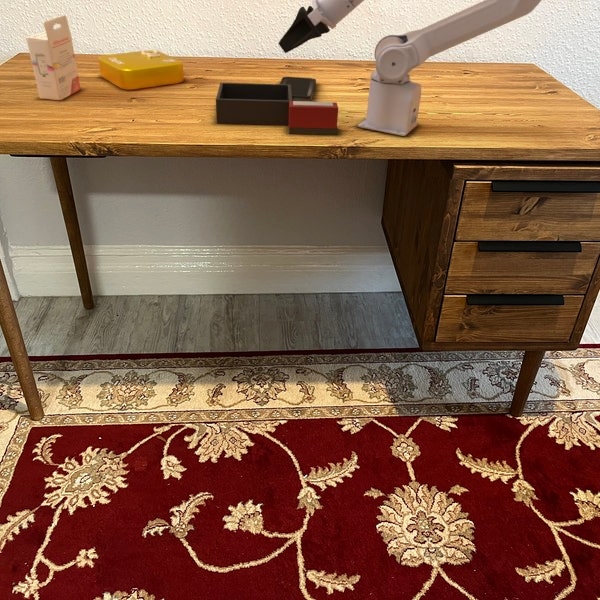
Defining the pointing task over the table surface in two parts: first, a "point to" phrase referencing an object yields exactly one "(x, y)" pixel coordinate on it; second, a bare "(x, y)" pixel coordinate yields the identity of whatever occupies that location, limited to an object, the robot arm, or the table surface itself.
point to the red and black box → (313, 118)
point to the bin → (253, 103)
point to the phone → (300, 87)
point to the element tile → (141, 69)
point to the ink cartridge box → (54, 60)
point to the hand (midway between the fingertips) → (286, 46)
